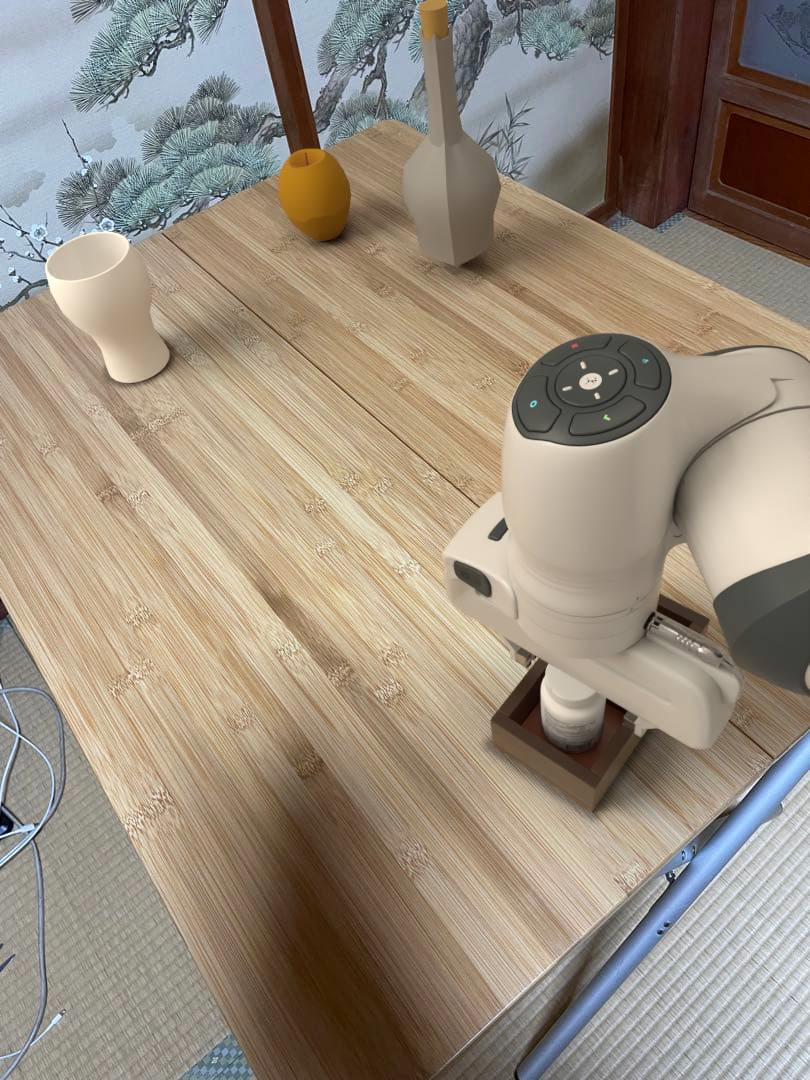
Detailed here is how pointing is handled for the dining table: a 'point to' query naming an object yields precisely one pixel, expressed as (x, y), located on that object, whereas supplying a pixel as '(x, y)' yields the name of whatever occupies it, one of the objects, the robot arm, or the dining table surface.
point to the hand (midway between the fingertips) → (579, 689)
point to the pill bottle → (570, 712)
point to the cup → (109, 302)
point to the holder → (566, 771)
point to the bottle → (448, 160)
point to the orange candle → (315, 193)
